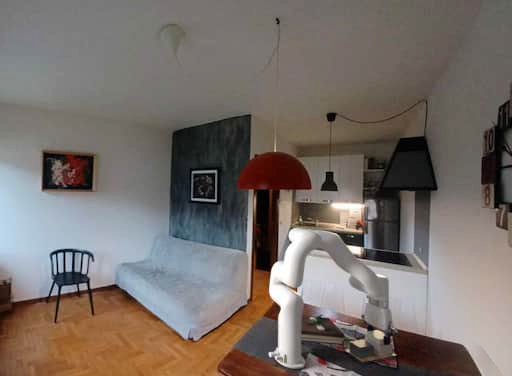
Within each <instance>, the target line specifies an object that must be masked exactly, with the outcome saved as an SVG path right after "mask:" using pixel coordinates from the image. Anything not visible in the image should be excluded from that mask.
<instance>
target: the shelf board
mask: <svg viewBox="0 0 512 376" xmlns="http://www.w3.org/2000/svg"><path fill="white" fill-rule="evenodd" d="M344 351H346V352H347V353H348V354H349V355H351V356H353V357H355V358H356V359H357V360H359V361H361V362H362V363H365V362H370V361H374V360H375V361H376V360H380V359H384V358H390V357H394V356H397V354H396V353H395V352H393V354H389V355H384V356H378V355H376V354H374V356H371V357H365V358H358V357H357V356H355V355H354V354H352V353H351V352H350V348H346V349H344Z"/></svg>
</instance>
